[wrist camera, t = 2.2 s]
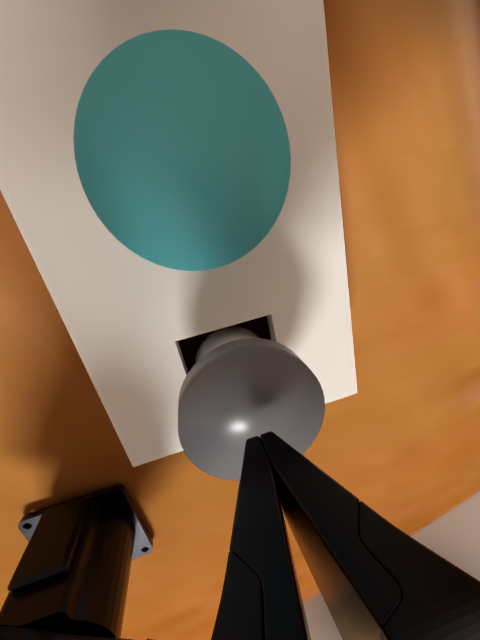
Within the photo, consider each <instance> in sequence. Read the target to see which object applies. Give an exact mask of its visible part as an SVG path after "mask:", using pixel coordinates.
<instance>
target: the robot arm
mask: <svg viewBox="0 0 480 640" xmlns="http://www.w3.org/2000/svg"><path fill="white" fill-rule="evenodd" d="M282 510H283V512H282ZM283 513H284V515H285V517H286V519H287V522H288V524H289V526H290V528H291V530H292V532H293V534H294V537H295V539H296V541H297V543H298V545H299V547H300V549H301V552H302V554H303V556H304V558H305V560H306V562H307V564H308V566H309V569H310V571H311V573H312V575H313V577H314V579H315V581H316V584H317V586H318V588H319V590H320V592H321V594H322V596H323V598H324V601H325V603H326V605H327V607H328V609H329V611H330V613H331V616H332V618H333V620H334V622H335V624H336V626H337V628H338V631H339V633H340V635H341V637H342V639H343V640H480V581H478V580H477V579H475V578H474V577H472V576H471V575H469V574H468V573H466V572H464V571H463V570H461V569H460V568H458V567H457V566H455V565H453V564H452V563H450V562H449V561H447V560H446V559H444V558H442V557H441V556H439V555H438V554H436V553H435V552H433V551H432V550H430V549H428V548H427V547H425V546H424V545H422V544H421V543H419V542H418V541H416V540H414V539H413V538H411V537H410V536H409V535H407V534H406V533H404V532H403V531H401V530H400V529H398V528H397V527H395V526H394V525H392V524H391V523H390V522H388V521H387V520H386V519H384V518H383V517H381V516H380V515H379V514H377V513H376V512H375V511H373V510H372V509H371V508H370V507H368V506H367V505H366V504H365V503H363V502H362V501H360V502H359V499H358V498H357V497H355V496H354V495H353V494H352V493H350V492H349V491H348V490H346V489H345V488H344V487H343V486H341V485H340V484H339V483H338V482H336V481H335V480H334V479H332V478H331V477H330V476H329V475H327V474H326V473H325V472H323V471H322V470H321V469H320V468H318V467H317V466H316V465H315V464H313V463H312V462H311V461H309V460H308V459H307V458H306V457H304V456H303V455H302V454H300V453H299V452H298V451H297V450H295V449H294V448H293V447H291V446H290V445H289V444H288V443H286V442H285V441H284V440H283V439H281V438H280V437H279V436H277V435H276V434H275V433H274V432H272V431H269V432H266V433H263V434H261V435H260V437H259V436H254V437H251V438H249V439H247V440H246V444H245V450H244V457H243V464H242V470H241V477H240V483H239V490H238V497H237V503H236V510H235V516H234V523H233V530H232V536H231V543H230V552H229V555H228V562H227V568H226V574H225V579H224V585H223V591H222V596H221V600H220V605H219V609H218V613H217V618H216V622H215V626H214V630H213V634H212V638H211V640H311V637H310V632H309V627H308V623H307V619H306V614H305V609H304V605H303V601H302V596H301V592H300V587H299V583H298V578H297V574H296V569H295V565H294V560H293V556H292V551H291V547H290V542H289V538H288V533H287V529H286V524H285V520H284V516H283ZM18 528H19V530H20V531H21V532H22V534H23V535H24V536H25V538H26V539H27V540H28V542H29V543H28V545H27V547H26V549H25V551H24V553H23V556H22V558H21V560H20V562H19V564H18V566H17V568H16V570H15V572H14V574H13V577H12V579H11V581H10V583H9V585H8V588H7V589H8V590H9V594H8V596H7V598H6V600H5V602H4V604H3V606H2V609H1V611H0V640H132V639H123V638H120V637H121V630H122V623H123V616H124V609H125V602H126V595H127V588H128V581H129V574H130V568H131V561H132V559H135V558H137V557H140V556H143V555H146V554H148V553H150V552H151V551H152V547H153V541H152V539H151V537H150V535H149V533H148V531H147V529H146V527H145V525H144V524H143V522H142V520H141V518H140V516H139V514H138V512H137V510H136V508H135V506H134V504H133V502H132V500H131V498H130V496H129V494H128V492H127V490H126V488H125V487H124V486H123V485H114V486H111V487H108V488H105V489H102V490H99V491H96V492H93V493H90V494H87V495H84V496H81V497H78V498H75V499H72V500H69V501H66V502H63V503H60V504H57V505H54V506H51V507H48V508H45V509H42V510H39V511H36V512H33V513H30V514H27V515H25V516H24V517H23V518H22V519H21V521H20V523H19V525H18ZM147 640H153V639H147Z"/></svg>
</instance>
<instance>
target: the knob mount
mask: <svg viewBox="0 0 480 640" xmlns="http://www.w3.org/2000/svg"><path fill="white" fill-rule="evenodd" d="M170 29H175V30H185V31H191V32H195V33H199V34H203V35H206V36H208V37H210V38H213V39H215V40H218V41H220V42H221V43H223V44H225V45H226V46H228V47H230V48H231V49H233V50H234V51H236V52H237V53H238V54H239V55H241V56H242V57H243V58H244V59H245V60H247V61H248V62H249V64H250V65H251V66H252V67H253V68H254V69H255V70H256V71H257V72H258V73H259V74H260V76H261V77H262V78H263V80H264V81H265V82H266V84H267V85H268V87H269V89H270V90H271V92H272V94H273V95H274V97H275V99H276V101H277V103H278V106H279V108H280V110H281V113H282V115H283V118H284V122H285V125H286V128H287V133H288V138H289V143H290V155H291V171H290V180H289V187H288V191H287V195H286V199H285V202H284V205H283V207H282V210H281V212H280V214H279V216H278V218H277V220H276V222H275V224H274V225H273V227H272V228H271V230H270V231H269V233H268V234H267V235H266V237H265V238H264V239H263V240H262V241H261V242H260V243H259V244H258V245H257V246H256V247H255V248H254V249H253V250H251V251H250V252H249V253H247V254H246V255H244V256H243V257H241V258H240V259H238V260H236V261H234V262H232V263H230V264H228V265H225V266H222V267H219V268H215V269H210V270H204V271H183V270H176V269H171V268H166V267H163V266H160V265H157V264H154V263H152V262H150V261H148V260H146V259H144V258H142V257H140V256H139V255H137V254H135V253H134V252H132V251H131V250H129V249H128V248H127V247H126V246H124V245H123V244H122V243H121V242H119V241H118V240H117V239H116V238H115V237H114V236H113V235H112V234H111V233H110V232H109V231H108V229H107V228H106V227H105V226H104V224H103V223H102V222H101V220H100V219H99V218H98V216H97V215H96V213H95V211H94V210H93V208H92V206H91V205H90V203H89V201H88V199H87V196H86V194H85V192H84V190H83V187H82V184H81V181H80V178H79V175H78V171H77V166H76V161H75V156H74V140H73V136H74V121H75V116H76V111H77V106H78V103H79V100H80V97H81V94H82V91H83V89H84V87H85V85H86V83H87V81H88V79H89V77H90V75H91V74H92V72H93V71H94V70H95V68H96V67H97V66H98V64H99V63H100V62H101V61H102V60H103V59H104V58H105V57H106V56H107V55H108V54H109V53H110V52H111V51H112V50H113V49H115V48H116V47H118V46H119V45H121V44H122V43H124V42H125V41H127V40H129V39H131V38H134V37H136V36H138V35H141V34H144V33H148V32H152V31H156V30H170ZM0 190H1V192H2V194H3V197H4V199H5V201H6V203H7V205H8V207H9V209H10V211H11V213H12V215H13V217H14V220H15V222H16V224H17V226H18V228H19V230H20V232H21V234H22V236H23V238H24V240H25V243H26V245H27V247H28V249H29V251H30V253H31V255H32V257H33V259H34V261H35V263H36V266H37V268H38V270H39V272H40V274H41V276H42V278H43V280H44V282H45V284H46V286H47V289H48V291H49V293H50V295H51V297H52V299H53V301H54V303H55V305H56V307H57V309H58V312H59V314H60V316H61V318H62V320H63V322H64V324H65V326H66V328H67V330H68V332H69V335H70V337H71V339H72V341H73V343H74V345H75V347H76V349H77V351H78V353H79V355H80V358H81V360H82V362H83V364H84V366H85V368H86V370H87V372H88V374H89V376H90V378H91V381H92V383H93V385H94V387H95V389H96V391H97V393H98V395H99V397H100V399H101V401H102V404H103V406H104V408H105V410H106V412H107V414H108V416H109V418H110V420H111V422H112V424H113V427H114V429H115V431H116V433H117V435H118V437H119V439H120V441H121V443H122V445H123V447H124V450H125V452H126V454H127V456H128V458H129V460H130V462H131V464H132V466H133V467H136V466H139V465H142V464H145V463H148V462H151V461H154V460H157V459H160V458H163V457H166V456H169V455H172V454H175V453H178V452H181V451H184V450H183V448H182V446H181V443H180V440H179V435H178V398H179V393H180V389H181V386H182V384H183V381H184V379H185V378H186V376H187V374H188V370H187V367H186V364H185V361H184V358H183V355H182V352H181V349H180V346H179V343H178V341H179V340H182V339H186V338H189V337H193V336H196V335H200V334H204V333H207V332H211V331H214V330H218V329H221V328H225V327H228V326H232V325H235V324H239V323H242V322H246V321H249V320H253V319H256V318H260V317H263V316H267V320H268V325H269V330H270V335H271V340H272V341H275V342H278V343H280V344H282V345H284V346H286V347H288V348H289V349H291V350H292V351H293V352H294V353H295V354H296V355H297V356H298V357H299V358H300V359H301V360H302V361H303V362H304V363H305V364H306V365H307V366H308V368H309V369H310V370H311V371H312V372H313V373H314V375H315V376H316V377H317V379H318V381H319V382H320V385H321V387H322V390H323V394H324V398H325V404H326V403H329V402H332V401H335V400H338V399H341V398H344V397H347V396H350V395H353V394H356V393H357V383H356V371H355V360H354V348H353V337H352V325H351V313H350V302H349V290H348V279H347V267H346V256H345V244H344V233H343V221H342V209H341V198H340V186H339V175H338V163H337V152H336V140H335V129H334V117H333V105H332V94H331V82H330V71H329V59H328V48H327V36H326V25H325V13H324V1H323V0H0Z"/></svg>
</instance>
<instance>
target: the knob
mask: <svg viewBox="0 0 480 640" xmlns="http://www.w3.org/2000/svg"><path fill="white" fill-rule="evenodd" d="M324 412H325V398H324V394H323V390H322V387H321V385H320V382H319V381H318V379H317V377H316V376H315V375H314V373H313V372H312V371H311V370H310V369H309V368H308V366H307V365H306V364H305V363H304V362H303V361H302V360H301V359H300V358H299V357H298V356H297V355H296V354H295V353H294V352H293V351H292V350H291V349H289V348H288V347H286V346H284V345H282V344H280V343H278V342H275V341H272V340H268V339H262V338H259V337H258V336H257V335H256V334H255V333H253V332H252V331H250V330H248V329H245V328H242V327H226V328H222V329H219V330H217V331H215V332H213V333H212V334H210V335H209V336H208V337H207V338H206V339H205V340H204V341H203V342H202V343H201V345H200V347H199V349H198V351H197V354H196V358H195V365H194V366H193V367H192V368H191V370H190V371H189V373H188V374H187V376H186V378H185V379H184V381H183V384H182V386H181V389H180V393H179V398H178V435H179V440H180V443H181V446H182V448H183V450H184V452H185V454H186V455H187V457H188V458H189V460H190V461H191V462H192V463H193V464H194V465H195V466H197V467H198V468H199V469H201V470H202V471H204V472H206V473H208V474H210V475H212V476H215V477H218V478H222V479H227V480H240V477H241V470H242V464H243V457H244V450H245V444H246V440H247V439H249V438H251V437H254V436H259V437H260V435H261V434H263V433H266V432H269V431H272V432H274V433H275V434H276V435H277V436H279V437H280V438H281V439H283V440H284V441H285V442H286V443H288V444H289V445H290V446H291V447H293V448H294V449H295V450H297V451H298V452H299V453H300V454H303V453H304V452H305V451H306V450H307V449H308V448H309V447H310V445H311V444H312V443H313V441H314V439H315V438H316V436H317V434H318V432H319V430H320V428H321V425H322V422H323V418H324Z"/></svg>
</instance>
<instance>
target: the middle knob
mask: <svg viewBox="0 0 480 640" xmlns="http://www.w3.org/2000/svg"><path fill="white" fill-rule="evenodd" d="M73 140H74V156H75V161H76V166H77V171H78V175H79V178H80V181H81V184H82V187H83V190H84V192H85V194H86V196H87V199H88V201H89V203H90V205H91V206H92V208H93V210H94V211H95V213H96V215H97V216H98V218H99V219H100V220H101V222H102V223H103V224H104V226H105V227H106V228H107V229H108V231H109V232H110V233H111V234H112V235H113V236H114V237H115V238H116V239H117V240H118V241H119V242H121V243H122V244H123V245H124V246H126V247H127V248H128V249H129V250H131V251H132V252H134V253H135V254H137V255H139V256H140V257H142V258H144V259H146V260H148V261H150V262H152V263H154V264H157V265H160V266H163V267H166V268H171V269H176V270H183V271H204V270H210V269H215V268H219V267H222V266H225V265H228V264H230V263H232V262H234V261H236V260H238V259H240V258H241V257H243V256H244V255H246V254H247V253H249V252H250V251H251V250H253V249H254V248H255V247H256V246H257V245H258V244H259V243H260V242H261V241H262V240H263V239H264V238H265V237H266V235H267V234H268V233H269V231H270V230H271V228H272V227H273V225H274V224H275V222H276V220H277V218H278V216H279V214H280V212H281V210H282V207H283V205H284V202H285V199H286V195H287V191H288V187H289V180H290V171H291V155H290V143H289V138H288V133H287V128H286V125H285V122H284V118H283V115H282V113H281V110H280V108H279V106H278V103H277V101H276V99H275V97H274V95H273V94H272V92H271V90H270V89H269V87H268V85H267V84H266V82H265V81H264V80H263V78H262V77H261V76H260V74H259V73H258V72H257V71H256V70H255V69H254V68H253V67H252V66H251V65H250V64H249V62H248V61H247V60H245V59H244V58H243V57H242V56H241V55H239V54H238V53H237V52H236V51H234V50H233V49H231V48H230V47H228V46H226V45H225V44H223V43H221V42H220V41H218V40H215V39H213V38H210V37H208V36H206V35H203V34H199V33H195V32H191V31H185V30H175V29H170V30H156V31H152V32H148V33H144V34H141V35H138V36H136V37H134V38H131V39H129V40H127V41H125V42H124V43H122V44H121V45H119V46H118V47H116V48H115V49H113V50H112V51H111V52H110V53H109V54H108V55H107V56H106V57H105V58H104V59H103V60H102V61H101V62H100V63H99V64H98V66H97V67H96V68H95V70H94V71H93V72H92V74H91V75H90V77H89V79H88V81H87V83H86V85H85V87H84V89H83V91H82V94H81V97H80V100H79V103H78V106H77V111H76V116H75V121H74V136H73Z"/></svg>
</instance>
